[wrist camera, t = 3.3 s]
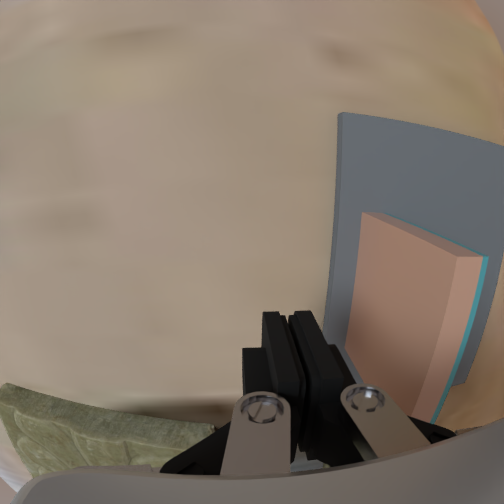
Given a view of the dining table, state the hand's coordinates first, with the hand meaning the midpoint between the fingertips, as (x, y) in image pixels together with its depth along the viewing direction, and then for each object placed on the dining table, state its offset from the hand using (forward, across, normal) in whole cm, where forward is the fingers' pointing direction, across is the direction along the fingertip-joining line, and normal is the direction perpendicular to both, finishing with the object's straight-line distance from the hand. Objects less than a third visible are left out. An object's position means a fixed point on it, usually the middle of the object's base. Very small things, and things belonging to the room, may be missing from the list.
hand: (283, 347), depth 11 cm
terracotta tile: (+6, -6, 0) cm, 8 cm away
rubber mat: (+6, -10, 0) cm, 12 cm away
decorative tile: (+7, +13, +20) cm, 25 cm away
